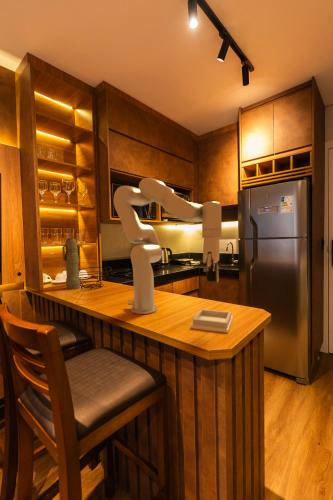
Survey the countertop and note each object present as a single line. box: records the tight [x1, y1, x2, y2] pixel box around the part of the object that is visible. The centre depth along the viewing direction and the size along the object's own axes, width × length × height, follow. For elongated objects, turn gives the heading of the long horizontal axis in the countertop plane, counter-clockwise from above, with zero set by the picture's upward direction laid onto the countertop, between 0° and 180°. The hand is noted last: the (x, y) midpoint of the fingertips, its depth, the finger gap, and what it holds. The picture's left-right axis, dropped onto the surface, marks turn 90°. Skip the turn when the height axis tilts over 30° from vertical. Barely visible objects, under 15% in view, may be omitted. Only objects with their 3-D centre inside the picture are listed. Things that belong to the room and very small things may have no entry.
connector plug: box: [202, 265, 220, 284], centre depth 95 cm, size 6×4×6 cm
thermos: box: [61, 237, 81, 290], centre depth 167 cm, size 9×12×35 cm
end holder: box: [190, 308, 234, 333], centre depth 96 cm, size 14×16×3 cm
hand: (212, 279), depth 95 cm, fingers closed on connector plug, 4 cm apart
